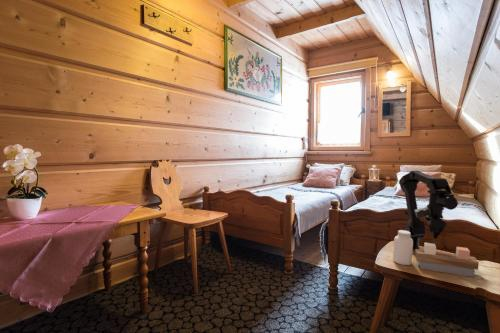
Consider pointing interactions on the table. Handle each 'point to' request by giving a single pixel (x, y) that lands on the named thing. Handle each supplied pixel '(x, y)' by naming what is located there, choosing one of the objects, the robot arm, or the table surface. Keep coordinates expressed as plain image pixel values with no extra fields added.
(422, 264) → the block
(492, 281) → the table surface
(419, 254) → the tan long bar
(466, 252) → the block
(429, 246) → the block
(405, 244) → the pill bottle
